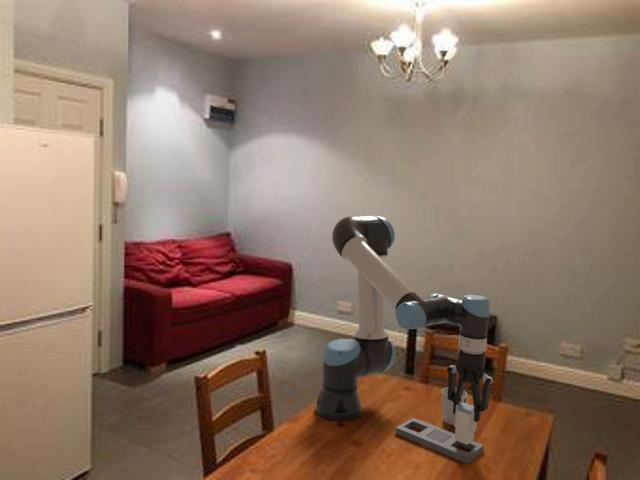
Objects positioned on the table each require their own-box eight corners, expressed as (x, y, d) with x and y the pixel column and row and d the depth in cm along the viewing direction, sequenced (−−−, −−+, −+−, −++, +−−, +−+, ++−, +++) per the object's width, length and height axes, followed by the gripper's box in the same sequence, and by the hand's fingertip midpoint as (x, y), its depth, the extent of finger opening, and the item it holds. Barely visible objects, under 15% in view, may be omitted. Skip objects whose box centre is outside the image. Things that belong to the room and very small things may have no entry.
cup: (465, 428, 175) (468, 398, 173) (439, 425, 176) (441, 395, 175) (464, 417, 182) (466, 389, 181) (439, 414, 184) (441, 385, 183)
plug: (454, 439, 159) (457, 406, 157) (461, 435, 162) (463, 402, 160) (467, 444, 156) (470, 410, 155) (473, 440, 159) (476, 406, 158)
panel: (395, 433, 169) (396, 427, 169) (412, 423, 176) (413, 417, 176) (467, 464, 153) (468, 457, 153) (483, 451, 161) (483, 445, 160)
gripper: (438, 345, 158) (432, 422, 161) (495, 361, 147) (487, 443, 150) (451, 340, 164) (445, 414, 167) (506, 355, 153) (499, 434, 156)
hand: (465, 428), depth 159 cm, fingers closed on plug, 4 cm apart
